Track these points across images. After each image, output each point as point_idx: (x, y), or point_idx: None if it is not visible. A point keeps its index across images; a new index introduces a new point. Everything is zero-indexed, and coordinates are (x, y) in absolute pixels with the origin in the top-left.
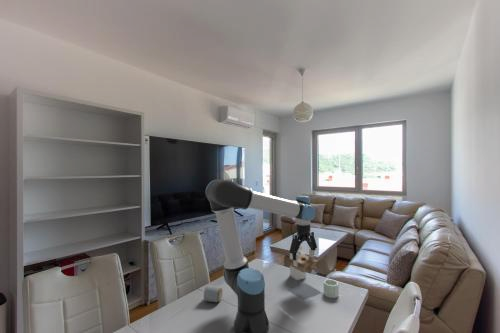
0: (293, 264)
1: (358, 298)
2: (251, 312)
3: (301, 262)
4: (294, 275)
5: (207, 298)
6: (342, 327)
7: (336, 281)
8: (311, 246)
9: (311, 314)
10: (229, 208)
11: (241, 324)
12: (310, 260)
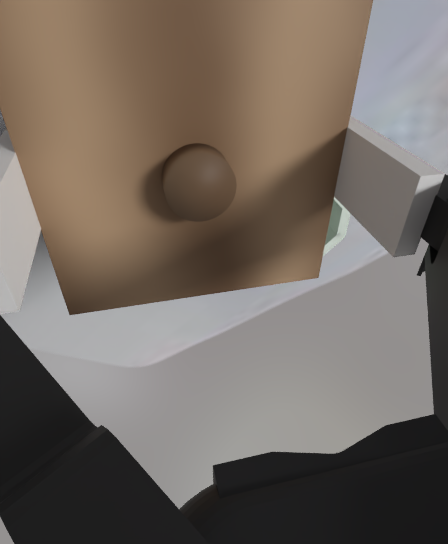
0: (2, 135)
1: (350, 260)
2: None
3: (92, 253)
4: None
5: None
6: (125, 363)
7: (344, 229)
8: (428, 304)
9: (51, 277)
10: None
11: None
12: (249, 243)
